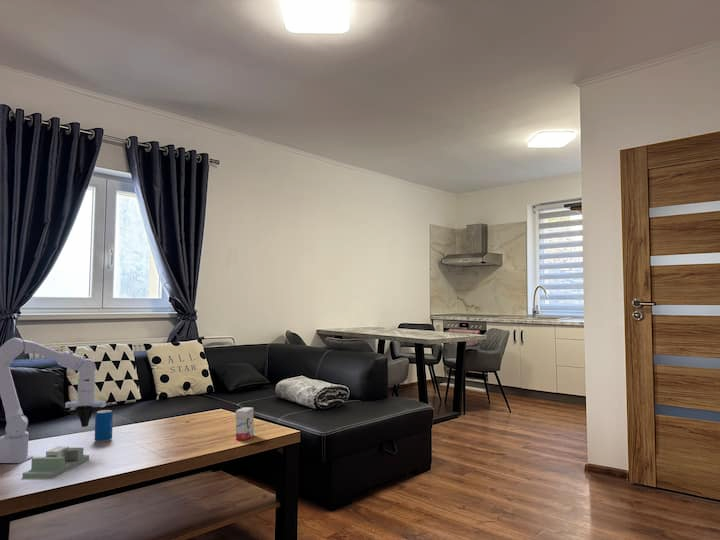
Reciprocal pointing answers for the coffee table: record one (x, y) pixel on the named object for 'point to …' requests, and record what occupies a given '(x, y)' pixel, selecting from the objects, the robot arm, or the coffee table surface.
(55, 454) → the steel block
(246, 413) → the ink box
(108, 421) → the beverage can
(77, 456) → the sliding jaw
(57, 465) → the vise
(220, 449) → the coffee table surface
